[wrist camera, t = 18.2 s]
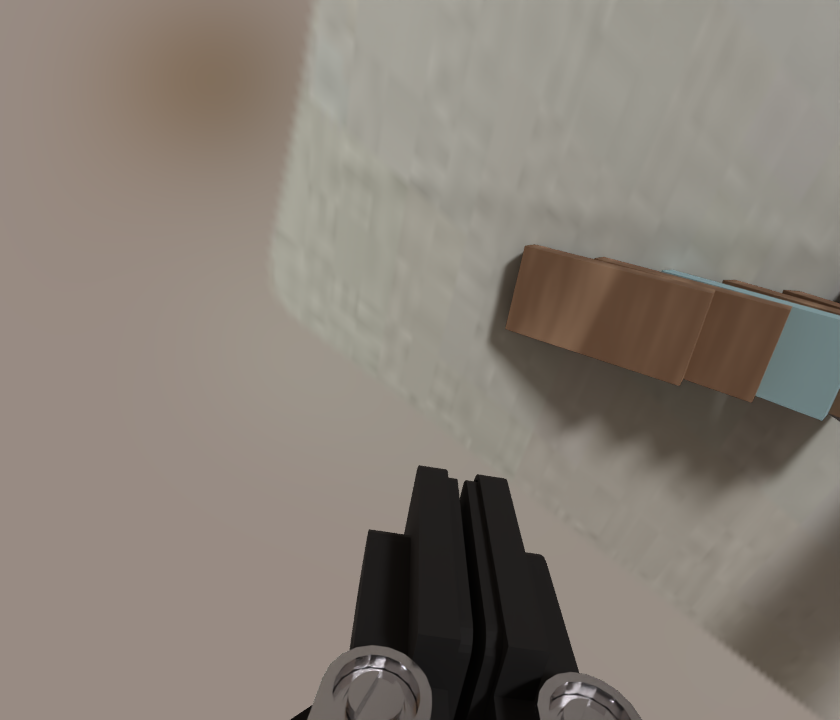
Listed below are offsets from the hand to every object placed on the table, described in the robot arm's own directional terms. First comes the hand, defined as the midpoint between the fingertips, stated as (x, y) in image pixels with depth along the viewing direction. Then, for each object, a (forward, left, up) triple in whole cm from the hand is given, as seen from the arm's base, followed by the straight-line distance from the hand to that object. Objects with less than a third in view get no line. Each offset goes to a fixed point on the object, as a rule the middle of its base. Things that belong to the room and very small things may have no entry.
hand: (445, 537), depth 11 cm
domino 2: (-9, +3, -24) cm, 26 cm away
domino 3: (-13, +5, -24) cm, 28 cm away
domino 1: (-5, +2, -24) cm, 25 cm away
